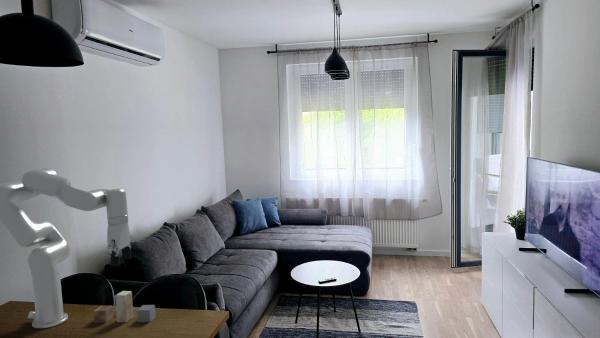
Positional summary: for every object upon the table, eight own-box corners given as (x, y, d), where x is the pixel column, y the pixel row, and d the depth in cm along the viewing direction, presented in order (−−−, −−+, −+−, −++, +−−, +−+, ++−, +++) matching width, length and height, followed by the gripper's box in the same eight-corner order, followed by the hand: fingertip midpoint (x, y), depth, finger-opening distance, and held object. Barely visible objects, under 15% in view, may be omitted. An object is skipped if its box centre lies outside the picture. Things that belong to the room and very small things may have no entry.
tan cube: (94, 323, 166) (93, 310, 166) (101, 317, 171) (100, 305, 171) (106, 322, 166) (105, 310, 165) (113, 317, 171) (112, 305, 170)
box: (126, 322, 165) (124, 295, 164) (116, 322, 166) (114, 295, 165) (134, 317, 170) (132, 290, 169) (124, 316, 171) (122, 290, 170)
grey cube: (138, 322, 165) (137, 310, 164) (143, 316, 170) (142, 305, 169) (150, 322, 164) (149, 310, 164) (155, 316, 169) (154, 304, 169)
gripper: (119, 216, 174) (123, 256, 175) (96, 225, 156) (101, 269, 158) (137, 215, 173) (140, 255, 174) (116, 224, 156) (120, 268, 157)
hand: (121, 262), depth 166 cm, fingers open, 9 cm apart
